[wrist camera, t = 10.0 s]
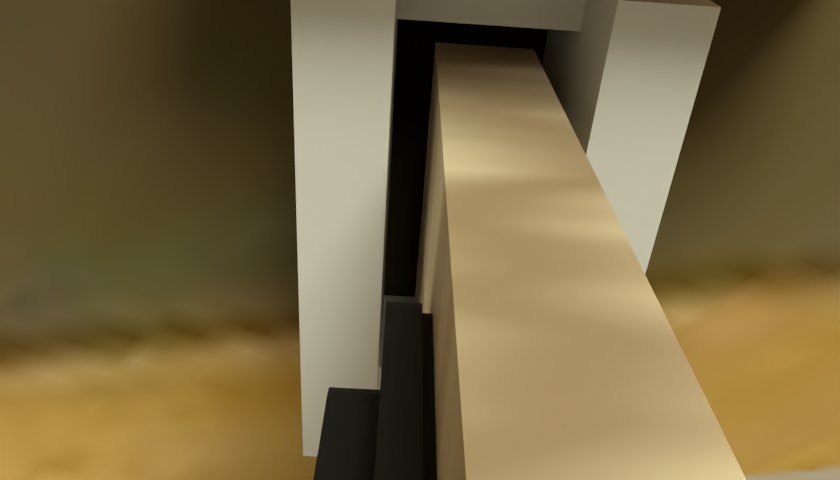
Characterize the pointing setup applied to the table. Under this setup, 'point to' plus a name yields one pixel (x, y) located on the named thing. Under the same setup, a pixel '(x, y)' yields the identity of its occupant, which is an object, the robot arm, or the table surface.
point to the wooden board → (542, 298)
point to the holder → (373, 126)
